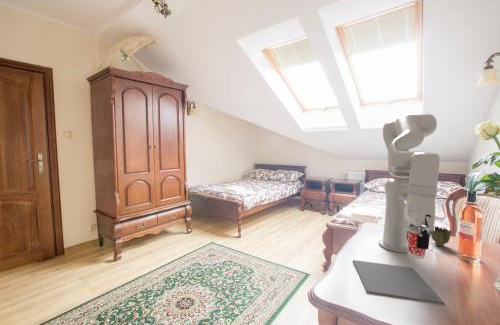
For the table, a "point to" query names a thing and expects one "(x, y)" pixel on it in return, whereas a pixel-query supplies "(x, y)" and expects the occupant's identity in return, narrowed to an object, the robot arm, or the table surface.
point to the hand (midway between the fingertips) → (417, 243)
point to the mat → (395, 282)
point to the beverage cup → (414, 243)
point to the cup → (441, 236)
